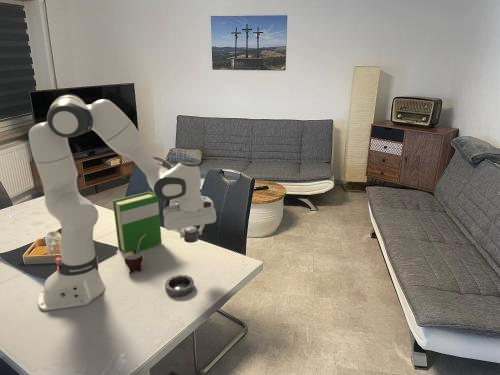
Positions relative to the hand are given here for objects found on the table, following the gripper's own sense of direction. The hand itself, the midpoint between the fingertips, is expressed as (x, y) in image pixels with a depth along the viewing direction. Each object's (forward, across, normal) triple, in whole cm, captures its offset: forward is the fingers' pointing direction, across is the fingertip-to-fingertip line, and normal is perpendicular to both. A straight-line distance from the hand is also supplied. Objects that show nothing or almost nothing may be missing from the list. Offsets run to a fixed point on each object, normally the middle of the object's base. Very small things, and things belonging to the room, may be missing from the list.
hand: (191, 235), depth 149 cm
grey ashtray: (+17, -8, -9) cm, 20 cm away
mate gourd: (+17, -21, +12) cm, 29 cm away
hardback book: (+17, -16, +31) cm, 39 cm away
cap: (+2, 0, 0) cm, 2 cm away
